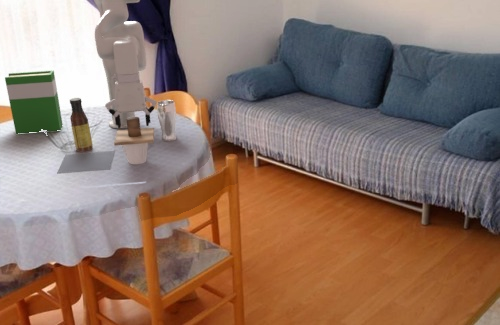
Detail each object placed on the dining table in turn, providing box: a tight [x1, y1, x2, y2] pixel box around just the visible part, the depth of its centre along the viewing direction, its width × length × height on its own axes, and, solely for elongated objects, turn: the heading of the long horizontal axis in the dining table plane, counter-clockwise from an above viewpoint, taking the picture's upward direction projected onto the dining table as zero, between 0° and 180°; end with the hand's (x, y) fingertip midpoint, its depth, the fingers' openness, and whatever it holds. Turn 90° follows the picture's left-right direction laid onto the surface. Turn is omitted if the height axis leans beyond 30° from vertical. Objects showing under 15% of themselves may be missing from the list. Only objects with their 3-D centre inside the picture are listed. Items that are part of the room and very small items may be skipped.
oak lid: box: [113, 116, 155, 146], centre depth 201 cm, size 13×13×7 cm
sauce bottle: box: [69, 97, 93, 152], centre depth 215 cm, size 7×6×20 cm
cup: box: [121, 143, 149, 165], centre depth 204 cm, size 10×10×9 cm
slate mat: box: [56, 150, 116, 174], centre depth 206 cm, size 18×18×1 cm
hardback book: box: [4, 70, 64, 135], centre depth 238 cm, size 18×7×24 cm, turn 99°
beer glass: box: [156, 99, 178, 143], centre depth 224 cm, size 7×7×15 cm
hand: (133, 125), depth 200 cm, fingers open, 9 cm apart
